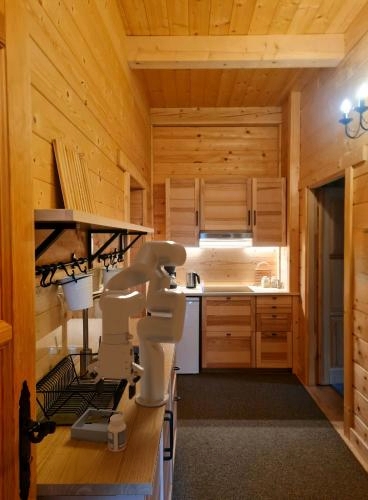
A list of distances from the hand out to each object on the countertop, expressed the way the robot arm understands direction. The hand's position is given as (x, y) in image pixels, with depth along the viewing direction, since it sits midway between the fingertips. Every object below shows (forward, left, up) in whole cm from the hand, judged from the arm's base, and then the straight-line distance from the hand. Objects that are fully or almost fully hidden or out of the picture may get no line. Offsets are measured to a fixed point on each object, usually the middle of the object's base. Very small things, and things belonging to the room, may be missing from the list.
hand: (115, 396), depth 100 cm
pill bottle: (-1, 0, -16) cm, 16 cm away
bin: (-8, -9, -15) cm, 20 cm away
